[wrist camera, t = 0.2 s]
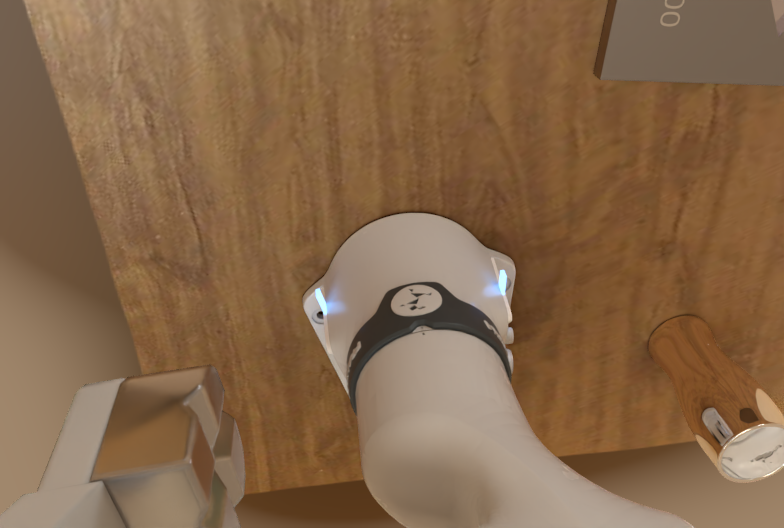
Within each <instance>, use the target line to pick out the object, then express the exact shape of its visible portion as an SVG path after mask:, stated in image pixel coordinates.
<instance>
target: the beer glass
mask: <svg viewBox="0 0 784 528" xmlns="http://www.w3.org/2000/svg"><path fill="white" fill-rule="evenodd" d="M648 351H649V354H650V356H651V358H652V359H653V361H654V362H655V363H656V364H657V365H658V366H659V367H660V368H662V369H663V370H664V372H665V373H666V374H667V375H668V377H669V378H670V380H671V382H672V384H673V387H674V390H675V393H676V395H677V398H678V401H679V404H680V407H681V409H682V412H683V415H684V417H685V419H686V421H687V424H688V426H689V428H690V429H691V431H692V433H693V435H694V436H695V438H696V440H697V441H698V443H699V444H700V445H701V447H702V449H703V450H704V451H705V452H706V454H707V455H708V457H709V458H710V459H711V461H712V462H713V463H714V464H715V466H716V467H717V468H718V470H719V472H720V473H721V475H723V476H724V477H725V478H726V479H728V480H731V481H734V482H741V483H747V482H754V481H759V480H762V479H765V478H767V477H769V476H772V475H773V474H775V473H777V472H778V471H780V470H781V469H783V468H784V416H783V414H782V413H781V411H780V410H779V408H778V407H777V405H776V404H775V403H774V401H773V400H772V399H771V397H770V396H769V395H768V393H767V392H766V391H765V390H764V389H763V388H762V386H761V385H760V384H759V383H758V382H757V381H756V380H755V379H754V378H753V377H751V376H750V375H749V374H748V373H747V372H746V371H745V370H744V369H742V368H741V367H740V366H739V365H738V364H736V363H735V362H734V361H733V360H732V359H730V358H729V357H728V356H727V355H726V354H725V353H724V352H723V351H722V350H721V349H720V348H719V346H718V345H717V343H716V341H715V339H714V337H713V335H712V332H711V330H710V328H709V326H708V325H707V323H706V322H705V321H703V320H702V319H700V318H698V317H695V316H689V315H685V316H679V317H675V318H672V319H670V320H668V321H666V322H664V323H663V324H661V325H660V326H659V327H658V328H657V329H656V330H655V331H654V333H653V334H652V336H651V338H650V340H649V344H648Z"/></svg>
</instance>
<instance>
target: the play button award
mask: <svg viewBox="0 0 784 528" xmlns="http://www.w3.org/2000/svg"><path fill="white" fill-rule="evenodd" d="M593 74H595V75H596V76H597V77H598V78H599V79H600V80H624V81H654V82H685V83H715V84H745V85H775V86H784V0H609V1H608V5H607V10H606V15H605V20H604V25H603V29H602V34H601V39H600V44H599V49H598V53H597V58H596V63H595V68H594V73H593Z"/></svg>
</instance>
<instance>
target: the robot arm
mask: <svg viewBox="0 0 784 528" xmlns="http://www.w3.org/2000/svg"><path fill="white" fill-rule="evenodd" d="M515 275H516V269H515V265H514V262H513V260H512V259H511V258H509V257H508V256H506V255H504V254H502V253H499V252H497V251H494V250H491V249H488V248H486V247H485V246H483V245H482V244H481V243H480V242H479V241H478V240H477V239H476V238H475V237H474V236H473V235H472V234H471V233H470V232H469V231H468V230H466V229H465V228H464V227H462V226H461V225H459V224H457V223H455V222H453V221H451V220H449V219H447V218H444V217H441V216H437V215H432V214H426V213H403V214H397V215H392V216H388V217H385V218H382V219H379V220H377V221H374V222H372V223H370V224H368V225H366V226H365V227H363V228H361V229H360V230H358V231H357V232H356V233H354V234H353V235H352V236H351V237H350V238H349V239H348V240H347V241H346V242H345V243H344V244H343V245H342V246H341V248H340V249H339V250H338V252H337V253H336V255H335V257H334V259H333V261H332V263H331V265H330V267H329V269H328V271H327V272H326V274H325V275H324V277H323V278H321V279H320V280H319V281H318V282H316V283H315V284H314V285H313V286H312V287H310V288H309V289H308V290H307V291H306V293H305V294H304V296H303V299H302V302H303V307H304V311H305V313H306V315H307V317H308V318H309V320H310V322H311V324H312V326H313V328H314V330H315V332H316V334H317V336H318V338H319V340H320V342H321V343H322V345H323V347H324V349H325V351H326V353H327V355H328V357H329V359H330V361H331V363H332V365H333V367H334V368H335V370H336V372H337V374H338V376H339V378H340V380H341V382H342V384H343V386H344V388H345V390H346V392H347V393H348V395H349V398H350V401H351V405H352V408H353V410H354V412H355V414H356V416H357V420H358V432H359V444H360V455H361V468H362V474H363V477H364V480H365V482H366V485H367V487H368V489H369V491H370V493H371V494H372V496H373V497H374V498H375V500H376V501H377V502H378V503H379V504H380V505H381V506H382V507H383V508H384V510H385V511H386V512H388V513H389V514H390V515H391V516H392V517H393V518H394V519H395V520H397V521H398V522H399V523H401V524H402V525H404V526H405V527H407V528H695V527H693V526H692V525H691V524H690V523H688V522H687V521H685V520H684V519H682V518H681V517H679V516H677V515H675V514H672V513H668V512H664V511H661V510H657V509H653V508H650V507H646V506H644V505H641V504H638V503H635V502H632V501H630V500H627V499H624V498H622V497H620V496H618V495H616V494H613V493H611V492H609V491H607V490H605V489H603V488H602V487H599V486H598V485H596V484H594V483H592V482H591V481H589V480H587V479H586V478H584V477H583V476H581V475H580V474H578V473H577V472H575V471H574V470H572V469H571V468H570V467H568V466H567V465H566V464H564V463H563V462H562V461H561V460H559V459H558V458H557V457H556V456H555V455H553V454H552V453H551V452H550V451H549V450H548V449H547V448H546V447H545V446H544V445H543V444H542V443H541V442H540V440H539V439H538V438H537V437H536V435H535V434H534V432H533V431H532V429H531V427H530V425H529V423H528V421H527V419H526V417H525V415H524V413H523V411H522V409H521V407H520V405H519V402H518V400H517V398H516V396H515V393H514V391H513V388H512V386H511V376H512V372H513V356H512V352H511V350H508V349H506V346H505V344H512V343H513V340H514V334H513V329H512V328H511V327H508V324H509V323H510V322H511V321H512V313H511V310H510V306H511V300H512V293H513V287H514V281H515ZM319 311H323V314H318V312H319ZM224 391H225V390H224V388H223V385H222V382H221V380H220V377H219V375H218V372H217V370H216V368H214V367H213V366H212V365H210V364H209V365H202V366H196V367H190V368H183V369H177V370H170V371H164V372H157V373H151V374H144V375H138V376H132V377H127V378H126V379H123V378H121V379H115V380H109V381H103V382H97V383H91V384H85V385H84V386H83V387H81V388H80V389H79V390H77V392H76V393H75V395H74V398H73V400H72V403H71V406H70V408H69V411H68V413H67V416H66V418H65V421H64V423H63V426H62V429H61V431H60V433H59V436H58V439H57V441H56V444H55V446H54V449H53V451H52V454H51V456H50V459H49V461H48V464H47V466H46V469H45V472H44V474H43V477H42V479H41V482H40V484H39V487H38V490H37V492H35V493H30V494H24V495H22V496H21V497H20V498H19V499H17V500H16V501H15V502H14V503H13V504H12V505H11V506H10V507H9V508H7V509H6V510H5V511H4V512H3V513H2V514H1V515H0V528H241V525H240V523H239V520H238V517H237V515H236V512H235V510H234V507H235V506H236V505H237V503H239V501H240V500H241V499H242V498H243V496H244V487H245V465H244V452H243V447H242V443H241V438H240V433H239V430H238V427H237V424H236V421H235V419H234V418H233V417H232V416H230V415H229V414H227V413H226V412H224V411H223V410H222V407H223V399H224Z"/></svg>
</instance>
